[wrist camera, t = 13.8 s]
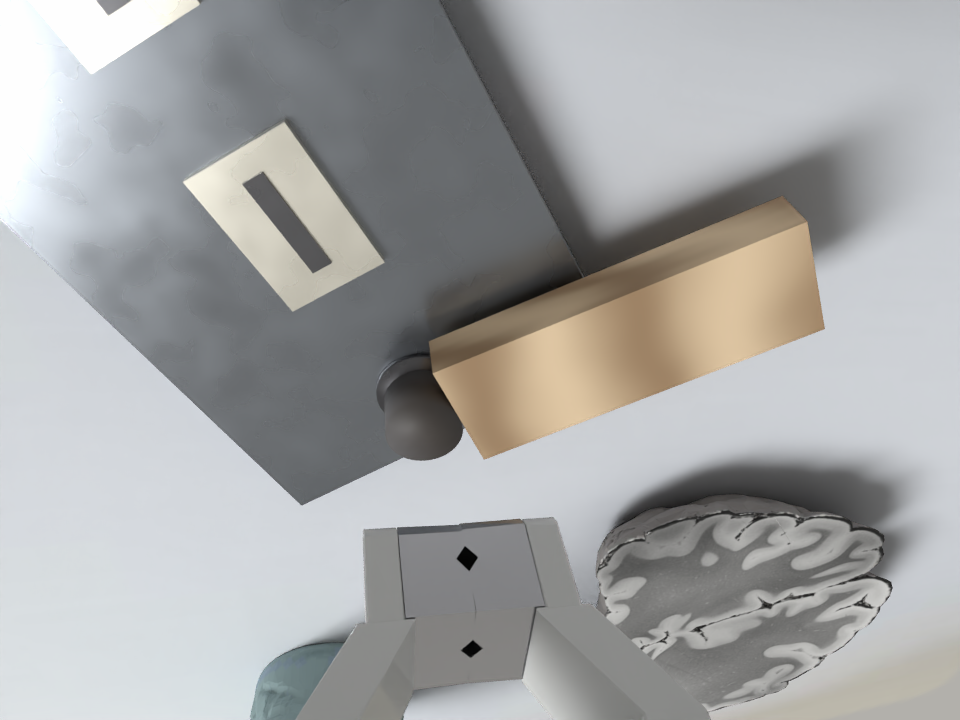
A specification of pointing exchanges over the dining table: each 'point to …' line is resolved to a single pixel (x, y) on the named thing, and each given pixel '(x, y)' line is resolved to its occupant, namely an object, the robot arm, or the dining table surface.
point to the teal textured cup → (291, 681)
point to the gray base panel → (271, 202)
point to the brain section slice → (739, 591)
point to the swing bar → (613, 337)
